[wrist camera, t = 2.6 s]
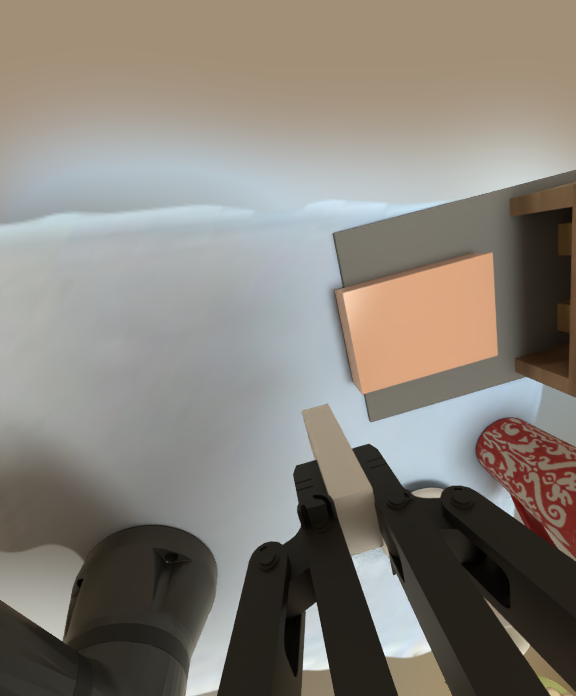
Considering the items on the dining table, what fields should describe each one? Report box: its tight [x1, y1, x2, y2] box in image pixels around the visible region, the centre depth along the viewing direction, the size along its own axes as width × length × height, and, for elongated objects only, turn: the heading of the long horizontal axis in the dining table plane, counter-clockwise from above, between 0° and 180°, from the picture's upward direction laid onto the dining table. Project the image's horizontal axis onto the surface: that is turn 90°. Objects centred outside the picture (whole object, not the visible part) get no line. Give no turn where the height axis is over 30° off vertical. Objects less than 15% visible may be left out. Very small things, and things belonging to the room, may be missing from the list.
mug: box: [477, 418, 576, 558], centre depth 32 cm, size 13×9×14 cm
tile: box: [335, 252, 498, 394], centre depth 30 cm, size 14×10×3 cm
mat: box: [333, 170, 576, 422], centre depth 32 cm, size 28×20×1 cm
